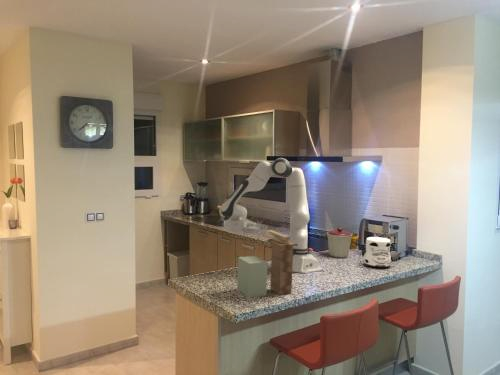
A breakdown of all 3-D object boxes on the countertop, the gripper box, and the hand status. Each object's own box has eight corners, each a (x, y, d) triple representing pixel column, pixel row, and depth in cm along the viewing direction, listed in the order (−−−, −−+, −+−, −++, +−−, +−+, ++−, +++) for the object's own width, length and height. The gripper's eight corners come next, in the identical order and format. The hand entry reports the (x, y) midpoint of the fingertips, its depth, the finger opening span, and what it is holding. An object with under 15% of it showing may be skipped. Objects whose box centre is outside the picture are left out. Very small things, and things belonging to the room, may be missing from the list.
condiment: (356, 250, 326) (357, 234, 325) (345, 248, 330) (346, 233, 329) (359, 248, 332) (359, 233, 331) (348, 247, 336) (349, 232, 336)
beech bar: (271, 236, 232) (271, 230, 232) (289, 243, 214) (289, 236, 214) (266, 236, 231) (266, 230, 231) (284, 243, 213) (284, 237, 213)
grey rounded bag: (382, 254, 314) (374, 259, 297) (383, 243, 313) (375, 248, 297) (403, 257, 306) (396, 263, 289) (404, 246, 305) (397, 251, 288)
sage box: (254, 287, 225) (255, 255, 224) (266, 295, 213) (267, 262, 211) (237, 289, 221) (238, 257, 220) (248, 297, 208) (249, 263, 207)
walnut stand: (282, 286, 228) (283, 238, 226) (295, 294, 216) (297, 244, 214) (265, 288, 224) (267, 239, 222) (278, 296, 211) (280, 245, 210)
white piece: (379, 270, 267) (381, 242, 266) (358, 264, 281) (359, 238, 280) (396, 267, 277) (397, 240, 276) (374, 261, 291) (375, 235, 290)
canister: (347, 260, 291) (348, 230, 290) (322, 256, 300) (323, 227, 299) (354, 255, 307) (355, 227, 305) (330, 252, 316) (331, 224, 314)
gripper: (232, 218, 250) (249, 218, 240) (256, 223, 264) (273, 223, 254) (231, 229, 249) (248, 229, 239) (255, 233, 263) (272, 233, 253)
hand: (261, 226), depth 247 cm, fingers open, 8 cm apart
